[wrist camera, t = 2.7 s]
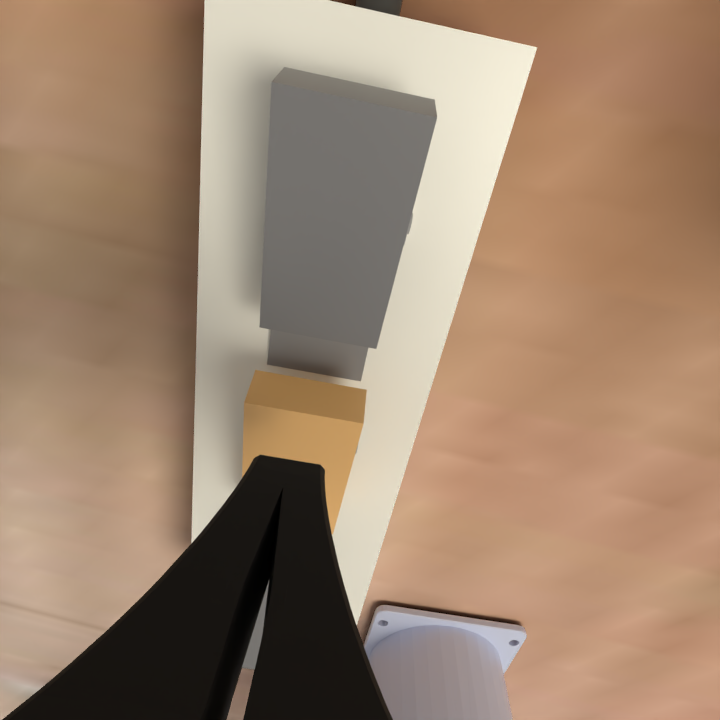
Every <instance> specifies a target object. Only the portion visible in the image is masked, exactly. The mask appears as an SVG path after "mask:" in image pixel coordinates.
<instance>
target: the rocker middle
mask: <svg viewBox="0 0 720 720" xmlns="http://www.w3.org/2000/svg"><path fill="white" fill-rule="evenodd" d="M366 393H367V390H365V389H360V388H354V387H349V386H343V385H338V384H332V383H326V382H321V381H315V380H310V379H304V378H298V377H293V376H287V375H282V374H276V373H271V372H265V371H259V370H255V372H254V375H253V378H252V381H251V384H250V387H249V390H248V393H247V395H246V398H245V401H244V422H243V461H242V477H243V476H244V474H245V473H246V471H247V470H248V468H249V466H250V464H251V463H252V461H253V459H254V458H255V457H257V456H259V455H266V456H272V457H278V458H284V459H290V460H296V461H302V462H308V463H313V464H319V465H321V466H322V467H323V468H324V469H325V492H326V502H327V509H328V516H329V522H330V527H331V533H332V534H333V532H334V529H335V525H336V521H337V518H338V514H339V511H340V507H341V503H342V500H343V496H344V493H345V489H346V485H347V482H348V478H349V475H350V471H351V467H352V464H353V460H354V457H355V453H356V449H357V446H358V442H359V439H360V435H361V431H362V428H363V424H364V414H365V403H366Z"/></svg>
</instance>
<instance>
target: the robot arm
mask: <svg viewBox="0 0 720 720" xmlns="http://www.w3.org/2000/svg"><path fill="white" fill-rule="evenodd" d="M268 582H269V585H268ZM267 585H268V593H267V601H266V609H265V618H264V626H263V634H262V639H261V643H260V648H259V652H258V657H257V662H256V666H255V670H254V675H253V679H252V684H251V688H250V693H249V697H248V702H247V706H246V710H245V715H244V719H243V720H513V718H512V713H511V708H510V703H509V698H508V693H507V689H506V684H505V679H504V673H505V671H506V670H507V668H508V667H509V665H510V663H511V662H512V660H513V658H514V657H515V655H516V654H517V652H518V650H519V649H520V647H521V645H522V644H523V642H524V641H525V639H526V637H527V635H526V631H525V628H524V627H522V626H520V625H515V624H508V623H502V622H495V621H489V620H482V619H476V618H469V617H462V616H456V615H449V614H443V613H436V612H430V611H423V610H417V609H410V608H404V607H397V606H391V605H380V606H379V607H377V608H376V610H375V612H374V615H373V618H372V621H371V624H370V627H369V630H368V633H367V636H366V639H365V642H364V645H363V643H362V640H361V637H360V634H359V632H358V629H357V626H356V623H355V619H354V616H353V613H352V610H351V607H350V603H349V600H348V597H347V593H346V590H345V586H344V583H343V579H342V575H341V572H340V568H339V564H338V560H337V555H336V551H335V546H334V542H333V538H332V533H331V527H330V522H329V516H328V509H327V502H326V492H325V469H324V468H323V467H322V466H321V465H319V464H313V463H308V462H302V461H296V460H290V459H284V458H278V457H272V456H266V455H259V456H257V457H255V458H254V459H253V461H252V463H251V464H250V466H249V468H248V470H247V471H246V473H245V474H244V476H243V477H242V479H241V480H240V482H239V483H238V485H237V486H236V488H235V489H234V491H233V492H232V493H231V495H230V496H229V497H228V499H227V500H226V501H225V503H224V504H223V506H222V507H221V508H220V509H219V511H218V512H217V513H216V514H215V516H214V517H213V518H212V519H211V521H210V522H209V523H208V524H207V526H206V527H205V528H204V529H203V531H202V532H201V533H200V534H199V535H198V537H197V538H196V539H195V540H194V541H193V542H192V544H191V545H190V546H189V547H188V548H187V549H186V550H185V551H184V552H183V554H182V555H181V556H180V557H179V558H178V559H177V560H176V561H175V562H174V564H173V565H172V566H171V567H170V568H169V569H168V570H167V571H166V572H165V574H164V575H163V576H162V577H161V578H160V579H159V580H158V581H157V582H156V583H155V584H154V585H153V586H152V587H151V588H150V589H149V590H148V591H147V592H146V593H145V594H144V595H143V596H142V597H141V598H140V599H139V600H138V601H137V602H136V603H135V604H134V605H133V606H132V607H131V608H130V609H129V610H128V611H127V612H126V613H125V614H124V615H123V616H122V617H121V618H120V619H119V620H118V621H117V622H116V623H115V624H114V625H112V626H111V627H110V628H109V629H108V630H107V631H106V632H105V633H104V634H103V635H102V636H100V637H99V638H98V639H97V640H96V641H95V642H94V643H93V644H92V645H90V646H89V647H88V648H87V649H86V650H85V651H84V652H83V653H82V654H80V655H79V656H78V657H77V658H76V659H75V660H74V661H73V662H72V663H70V664H69V665H68V666H67V667H66V668H65V669H63V670H62V671H61V672H60V673H59V674H58V675H56V676H55V677H54V678H53V679H52V680H51V681H49V682H48V683H47V684H46V685H45V686H43V687H42V688H41V689H40V690H39V691H37V692H36V693H35V694H34V695H32V696H31V697H30V698H29V699H27V700H26V701H25V702H24V703H22V704H21V705H20V706H19V707H17V708H16V709H15V710H14V711H12V712H11V713H10V714H9V715H7V716H6V717H5V718H4V719H2V720H226V719H227V716H228V712H229V709H230V705H231V701H232V698H233V694H234V691H235V688H236V685H237V681H238V678H239V675H240V672H241V669H242V665H243V662H244V659H245V656H246V653H247V649H248V646H249V643H250V640H251V636H252V633H253V630H254V627H255V624H256V620H257V617H258V614H259V611H260V607H261V604H262V601H263V598H264V595H265V591H266V588H267Z"/></svg>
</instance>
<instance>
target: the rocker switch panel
mask: <svg viewBox="0 0 720 720" xmlns="http://www.w3.org/2000/svg"><path fill="white" fill-rule="evenodd" d="M401 5H402V0H356V6H352V5H347V4H343V3H338V2H334V1H330V0H205V7H204V48H203V89H202V130H201V171H200V212H199V252H198V293H197V334H196V375H195V416H194V457H193V498H192V539H191V544H192V542H193V541H194V540H195V539H196V538H197V537H198V535H199V534H200V533H201V532H202V531H203V529H204V528H205V527H206V526H207V524H208V523H209V522H210V521H211V519H212V518H213V517H214V516H215V514H216V513H217V512H218V511H219V509H220V508H221V507H222V506H223V504H224V503H225V501H226V500H227V499H228V497H229V496H230V495H231V493H232V492H233V491H234V489H235V488H236V486H237V485H238V483H239V482H240V480H241V479H242V461H243V422H244V401H245V398H246V395H247V393H248V390H249V387H250V384H251V381H252V378H253V375H254V372H255V370H259V371H265V372H271V373H276V374H282V375H287V376H293V377H298V378H304V379H310V380H315V381H321V382H326V383H332V384H338V385H343V386H349V387H354V388H360V389H365V390H367V393H366V403H365V414H364V424H363V428H362V431H361V435H360V439H359V442H358V446H357V449H356V453H355V457H354V460H353V464H352V467H351V471H350V475H349V478H348V482H347V485H346V489H345V493H344V496H343V500H342V503H341V507H340V511H339V514H338V518H337V521H336V525H335V529H334V532H333V534H332V538H333V542H334V546H335V551H336V555H337V560H338V564H339V568H340V572H341V575H342V579H343V583H344V586H345V590H346V593H347V597H348V600H349V603H350V607H351V610H352V613H353V616H354V619H355V623H356V626H357V623H358V620H359V617H360V614H361V610H362V607H363V604H364V601H365V598H366V594H367V591H368V588H369V585H370V582H371V578H372V575H373V572H374V569H375V566H376V562H377V559H378V556H379V553H380V549H381V546H382V543H383V540H384V537H385V533H386V530H387V527H388V524H389V521H390V517H391V514H392V511H393V508H394V505H395V501H396V498H397V495H398V492H399V489H400V485H401V482H402V479H403V476H404V473H405V469H406V466H407V463H408V460H409V457H410V453H411V450H412V447H413V444H414V440H415V437H416V434H417V431H418V428H419V424H420V421H421V418H422V415H423V412H424V408H425V405H426V402H427V399H428V396H429V392H430V389H431V386H432V383H433V380H434V376H435V373H436V370H437V367H438V364H439V360H440V357H441V354H442V351H443V348H444V344H445V341H446V338H447V335H448V332H449V328H450V325H451V322H452V319H453V315H454V312H455V309H456V306H457V303H458V299H459V296H460V293H461V290H462V287H463V283H464V280H465V277H466V274H467V271H468V267H469V264H470V261H471V258H472V255H473V251H474V248H475V245H476V242H477V239H478V235H479V232H480V229H481V226H482V223H483V219H484V216H485V213H486V210H487V206H488V203H489V200H490V197H491V194H492V190H493V187H494V184H495V181H496V178H497V174H498V171H499V168H500V165H501V162H502V158H503V155H504V152H505V149H506V146H507V142H508V139H509V136H510V133H511V130H512V126H513V123H514V120H515V117H516V114H517V110H518V107H519V104H520V101H521V98H522V94H523V91H524V88H525V85H526V81H527V78H528V75H529V72H530V69H531V65H532V62H533V59H534V56H535V53H536V49H537V47H533V46H528V45H524V44H520V43H515V42H511V41H506V40H502V39H497V38H493V37H489V36H484V35H480V34H475V33H471V32H467V31H462V30H458V29H453V28H449V27H444V26H440V25H436V24H431V23H427V22H422V21H418V20H413V19H409V18H405V17H400V11H401ZM284 67H287V68H292V69H296V70H301V71H305V72H310V73H315V74H319V75H324V76H329V77H333V78H338V79H342V80H347V81H352V82H356V83H361V84H365V85H370V86H375V87H379V88H384V89H388V90H393V91H398V92H402V93H407V94H412V95H416V96H421V97H425V98H430V99H435V105H436V112H437V120H436V124H435V128H434V132H433V135H432V139H431V143H430V147H429V151H428V154H427V158H426V162H425V166H424V170H423V173H422V177H421V181H420V185H419V189H418V192H417V196H416V200H415V204H414V208H413V212H412V215H411V219H410V223H409V227H408V231H407V234H406V238H405V242H404V246H403V250H402V253H401V257H400V261H399V265H398V269H397V272H396V276H395V280H394V284H393V288H392V291H391V295H390V299H389V303H388V307H387V310H386V314H385V318H384V322H383V326H382V329H381V333H380V337H379V341H378V345H377V348H376V349H374V348H368V347H363V346H357V345H352V344H346V343H341V342H336V341H330V340H325V339H319V338H314V337H309V336H303V335H298V334H292V333H287V332H281V331H276V330H271V329H265V328H260V327H259V325H260V305H261V284H262V264H263V243H264V223H265V202H266V182H267V162H268V141H269V121H270V100H271V82H272V81H273V79H274V78H275V77H276V76H277V75H278V74H279V73H280V71H281V70H282V69H283V68H284Z"/></svg>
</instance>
